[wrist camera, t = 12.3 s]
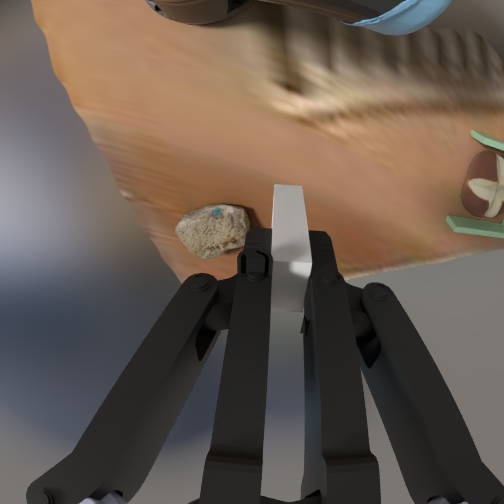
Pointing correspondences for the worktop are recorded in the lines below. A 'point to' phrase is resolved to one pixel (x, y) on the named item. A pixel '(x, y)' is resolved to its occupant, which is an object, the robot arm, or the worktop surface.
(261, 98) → the worktop surface
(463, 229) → the mint green tray
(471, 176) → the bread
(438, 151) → the worktop surface
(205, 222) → the rock
